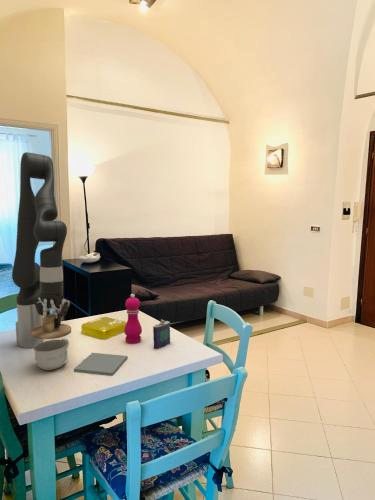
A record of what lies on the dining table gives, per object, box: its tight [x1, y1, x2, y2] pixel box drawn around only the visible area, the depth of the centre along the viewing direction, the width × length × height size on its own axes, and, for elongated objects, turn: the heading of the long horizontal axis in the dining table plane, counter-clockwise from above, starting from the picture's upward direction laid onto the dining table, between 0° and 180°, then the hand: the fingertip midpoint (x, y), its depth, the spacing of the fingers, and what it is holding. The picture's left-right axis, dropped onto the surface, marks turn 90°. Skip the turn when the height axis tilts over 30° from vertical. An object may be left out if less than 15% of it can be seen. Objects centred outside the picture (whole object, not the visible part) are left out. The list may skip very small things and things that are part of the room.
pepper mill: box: [123, 293, 143, 345], centre depth 153 cm, size 7×7×20 cm
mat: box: [73, 352, 129, 377], centre depth 132 cm, size 14×14×1 cm
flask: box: [152, 319, 171, 350], centre depth 149 cm, size 9×3×11 cm, turn 144°
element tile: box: [80, 316, 127, 341], centre depth 165 cm, size 15×15×5 cm
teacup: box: [33, 338, 69, 371], centre depth 131 cm, size 14×11×8 cm
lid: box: [32, 312, 72, 340], centre depth 130 cm, size 13×13×6 cm
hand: (52, 327), depth 130 cm, fingers closed on lid, 3 cm apart
